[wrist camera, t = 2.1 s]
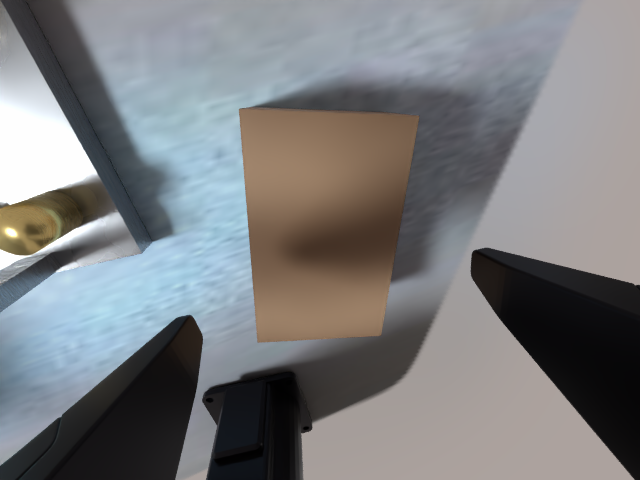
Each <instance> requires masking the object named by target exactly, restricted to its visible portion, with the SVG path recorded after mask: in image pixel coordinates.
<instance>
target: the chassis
mask: <svg viewBox="0 0 640 480" xmlns="http://www.w3.org/2000/svg"><path fill="white" fill-rule="evenodd" d="M151 243H152V240H151V238H150V236H149V234H148V233H147V231H146V229H145V227H144V225H143V223H142V221H141V219H140V217H139V215H138V214H137V212H136V210H135V208H134V206H133V204H132V202H131V200H130V198H129V196H128V195H127V193H126V191H125V189H124V187H123V185H122V183H121V181H120V179H119V177H118V176H117V174H116V172H115V170H114V168H113V166H112V164H111V162H110V160H109V158H108V157H107V155H106V153H105V151H104V149H103V147H102V145H101V143H100V141H99V139H98V138H97V136H96V134H95V132H94V130H93V128H92V126H91V124H90V122H89V120H88V119H87V117H86V115H85V113H84V111H83V109H82V107H81V105H80V103H79V101H78V100H77V98H76V96H75V94H74V92H73V90H72V88H71V86H70V84H69V82H68V81H67V79H66V77H65V75H64V73H63V71H62V69H61V67H60V65H59V64H58V62H57V60H56V58H55V56H54V54H53V52H52V50H51V48H50V46H49V45H48V43H47V41H46V39H45V37H44V35H43V33H42V31H41V29H40V27H39V26H38V24H37V22H36V20H35V18H34V16H33V14H32V12H31V10H30V8H29V7H28V5H27V3H26V1H25V0H0V312H2V311H3V310H4V309H6V308H7V307H8V306H10V305H11V304H13V303H14V302H15V301H17V300H18V299H19V298H21V297H22V296H23V295H25V294H26V293H28V292H29V291H30V290H32V289H33V288H34V287H36V286H37V285H38V284H40V283H41V282H42V281H44V280H45V279H47V278H48V277H49V276H51V275H52V274H53V273H56V272H60V271H65V270H69V269H74V268H78V267H83V266H87V265H92V264H96V263H101V262H105V261H110V260H114V259H119V258H123V257H128V256H132V255H137V254H141V253H143V252H144V251H145V249H146V248H147V247H148V246H149V245H150V244H151Z"/></svg>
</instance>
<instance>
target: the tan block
mask: <svg viewBox="0 0 640 480" xmlns="http://www.w3.org/2000/svg"><path fill="white" fill-rule="evenodd" d="M239 115H240V128H241V140H242V153H243V165H244V178H245V190H246V203H247V215H248V228H249V240H250V253H251V265H252V278H253V290H254V303H255V315H256V328H257V340H258V342H277V341H295V340H313V339H331V338H349V337H367V336H381V332H382V326H383V321H384V315H385V309H386V304H387V298H388V292H389V287H390V281H391V275H392V269H393V264H394V258H395V252H396V247H397V241H398V235H399V230H400V224H401V218H402V213H403V207H404V201H405V196H406V190H407V184H408V178H409V173H410V167H411V161H412V156H413V150H414V144H415V139H416V133H417V127H418V122H419V116H417V115H407V114H397V113H388V112H366V111H341V110H315V109H290V108H264V107H248V108H242V109H239Z"/></svg>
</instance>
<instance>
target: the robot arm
mask: <svg viewBox="0 0 640 480" xmlns="http://www.w3.org/2000/svg"><path fill="white" fill-rule="evenodd" d="M471 276H472V279H473V281H474V282H475V284H476V285H477V286H478V288H479V289H480V291H481V292H482V294H483V295H484V297H485V298H486V300H487V301H488V303H489V304H490V306H491V307H492V309H493V310H494V312H495V313H496V314H497V316H498V317H499V319H500V320H501V321H502V322H503V324H504V325H505V326H506V327H507V328H508V330H509V331H510V332H511V333H512V334H513V335H514V337H515V338H516V339H517V340H518V341H519V343H520V344H521V345H522V346H523V347H524V349H525V350H526V351H527V352H528V353H529V355H530V356H531V357H532V358H533V359H534V361H535V362H536V363H537V364H538V365H539V366H540V368H541V369H542V370H543V371H544V372H545V374H546V375H547V376H548V377H549V378H550V380H551V381H552V382H553V383H554V384H555V385H556V387H557V388H558V389H559V390H560V391H561V393H562V394H563V395H564V396H565V397H566V399H567V400H568V401H569V402H570V403H571V405H572V406H573V407H574V408H575V409H576V411H577V412H578V413H579V414H580V415H581V416H582V418H583V419H584V420H585V421H586V422H587V424H588V425H589V426H590V427H591V428H592V430H593V431H594V432H595V433H596V434H597V436H598V437H599V438H600V439H601V440H602V441H603V443H604V444H605V445H606V446H607V447H608V448H609V450H610V451H611V452H612V453H613V455H614V456H615V457H616V458H617V459H618V460H619V462H620V463H621V464H622V465H623V466H624V468H625V469H626V470H627V471H628V472H629V473H630V475H631V476H632V477H633V478H634V479H635V480H640V285H636V286H635V285H634V284H632V283H629V282H625V281H620V280H616V279H612V278H608V277H604V276H600V275H596V274H592V273H588V272H584V271H579V270H576V269H572V268H568V267H563V266H559V265H555V264H551V263H547V262H543V261H539V260H535V259H531V258H527V257H523V256H519V255H515V254H511V253H506V252H503V251H499V250H495V249H491V248H482V249H478V250H474V251H473V252H472V258H471ZM202 344H203V336H202V333H201V331H200V329H199V327H198V325H197V323H196V321H195V319H194V318H193V317H192V316H191V315H186V316H181V317H177V318H176V319H175V320H173V321H172V322H171V323H170V324H169V325H167V326H166V327H165V328H164V329H163V330H162V331H160V332H159V333H158V334H157V335H156V336H154V337H153V338H152V339H151V340H150V341H149V342H147V343H146V344H145V345H144V346H143V347H141V348H140V349H139V350H138V351H137V352H136V353H134V354H133V355H132V356H131V357H130V358H128V359H127V360H126V361H125V362H124V363H123V364H121V365H120V366H119V367H118V368H117V369H115V370H114V371H113V372H112V373H111V374H110V375H108V376H107V377H106V378H105V379H104V380H102V381H101V382H100V383H99V384H98V385H97V386H95V387H94V388H93V389H92V390H91V391H89V392H88V393H87V394H86V395H85V396H84V397H82V398H81V399H80V400H79V401H78V402H77V403H75V404H74V405H73V406H72V407H71V408H69V409H68V410H67V411H66V412H65V413H64V414H62V417H59V418H57V419H56V420H55V421H54V422H53V423H52V424H50V425H49V426H48V427H47V428H46V429H45V430H43V431H42V432H41V433H40V434H39V435H37V436H36V437H35V438H34V439H33V440H31V441H30V442H29V443H28V444H26V445H25V446H24V447H23V448H22V449H20V450H19V451H18V452H17V453H16V454H14V455H13V456H12V457H11V458H9V459H8V460H7V461H6V462H4V463H3V464H2V465H1V466H0V480H175V478H176V474H177V470H178V465H179V461H180V457H181V453H182V449H183V444H184V440H185V436H186V432H187V428H188V423H189V419H190V415H191V411H192V406H193V402H194V398H195V394H196V389H197V383H198V376H199V368H200V360H201V352H202ZM202 401H203V403H204V405H205V407H206V408H207V410H208V411H209V413H210V415H211V416H212V418H213V420H214V421H215V423H216V424H217V430H216V435H215V440H214V444H213V449H212V454H211V459H210V464H209V468H208V473H207V478H206V480H303V462H302V439H301V433H305V432H309V431H311V430H312V420H311V418H310V415H309V412H308V409H307V406H306V403H305V400H304V398H303V395H302V392H301V389H300V386H299V383H298V380H297V377H296V375H295V374H294V373H292V372H286V373H282V374H277V375H273V376H269V377H264V378H260V379H256V380H251V381H247V382H242V383H238V384H234V385H229V386H225V387H220V388H216V389H212V390H208V391H206V392H205V393H204V395H203V399H202Z"/></svg>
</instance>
